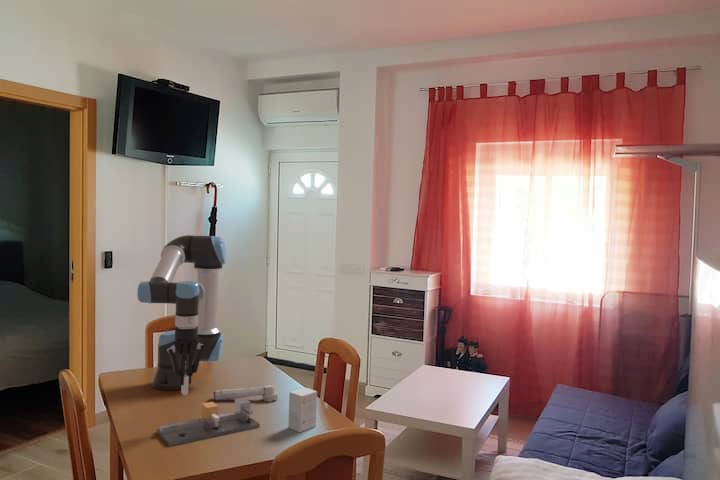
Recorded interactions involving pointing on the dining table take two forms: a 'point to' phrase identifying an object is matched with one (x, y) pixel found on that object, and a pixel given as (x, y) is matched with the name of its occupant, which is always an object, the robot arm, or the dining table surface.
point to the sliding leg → (210, 412)
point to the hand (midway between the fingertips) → (184, 393)
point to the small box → (302, 409)
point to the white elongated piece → (247, 393)
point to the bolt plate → (209, 425)
